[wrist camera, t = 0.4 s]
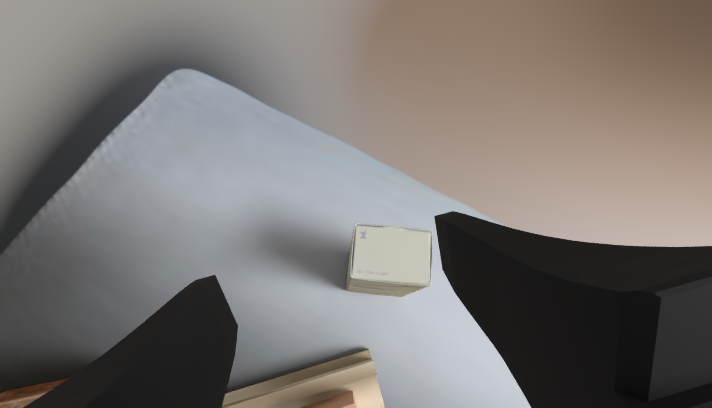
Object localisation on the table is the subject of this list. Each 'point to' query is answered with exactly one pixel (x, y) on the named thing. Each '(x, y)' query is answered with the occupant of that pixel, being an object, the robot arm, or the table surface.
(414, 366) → the table surface
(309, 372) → the chute
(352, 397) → the block
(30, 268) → the table surface
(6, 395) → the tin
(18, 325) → the table surface
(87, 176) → the table surface
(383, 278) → the skincare box
